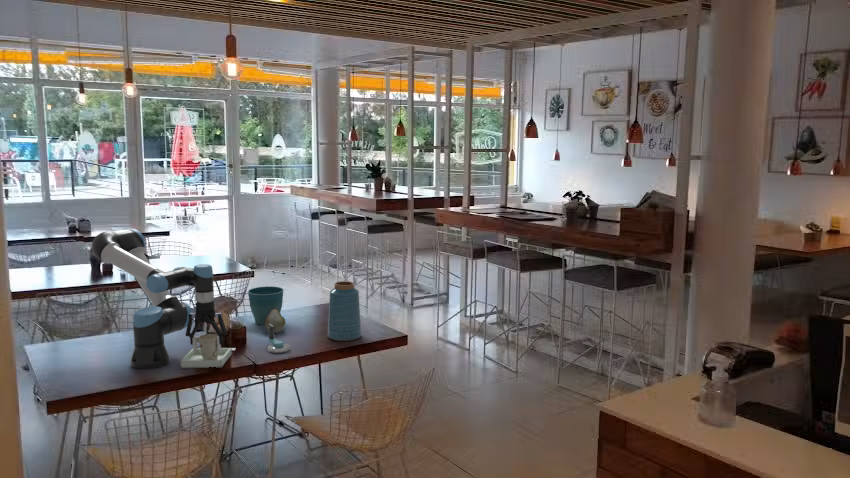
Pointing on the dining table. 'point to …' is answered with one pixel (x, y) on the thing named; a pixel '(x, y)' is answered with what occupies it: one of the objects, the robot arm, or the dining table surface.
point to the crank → (271, 338)
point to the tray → (197, 361)
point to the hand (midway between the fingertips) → (207, 351)
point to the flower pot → (265, 301)
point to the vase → (344, 312)
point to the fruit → (275, 321)
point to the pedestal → (278, 349)
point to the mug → (208, 346)
